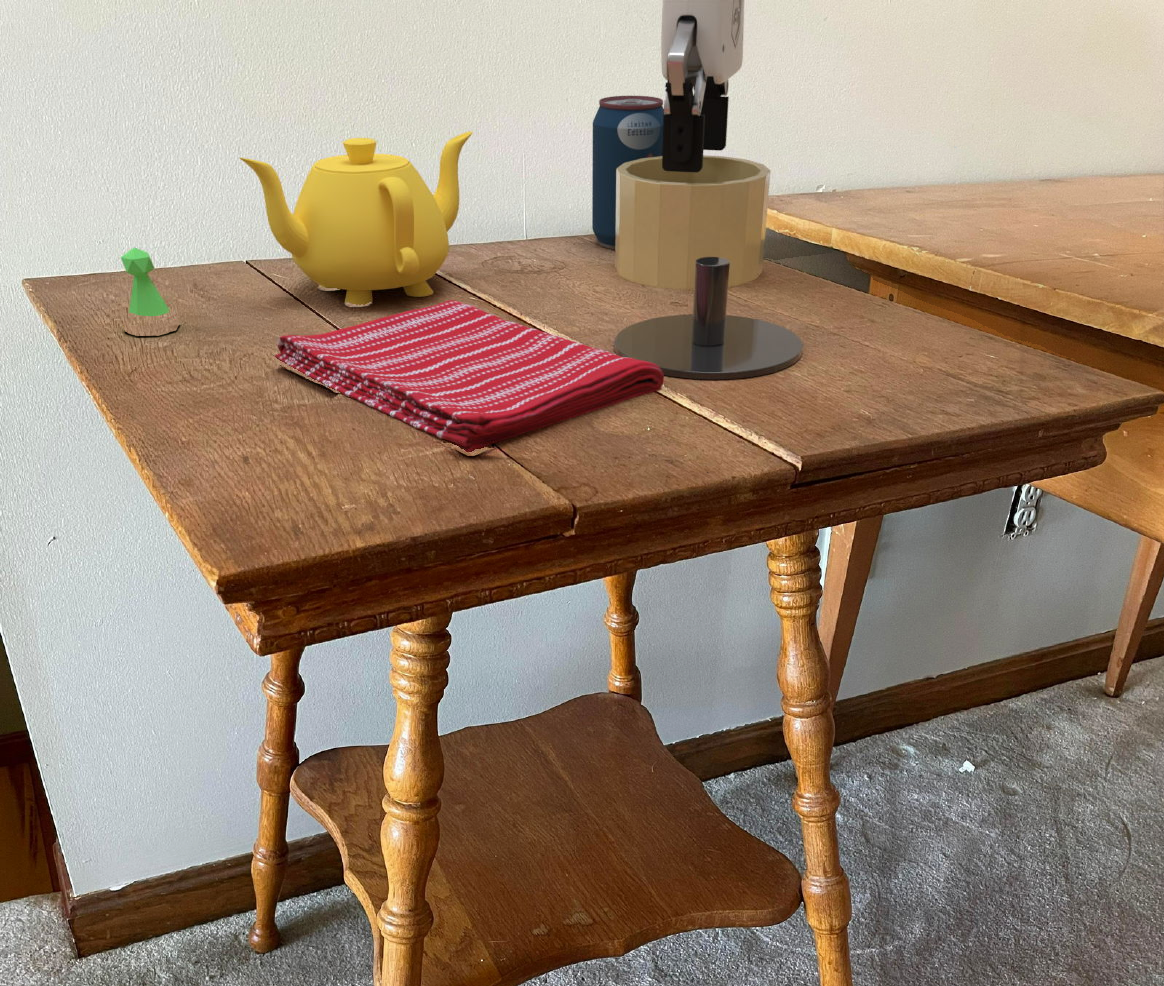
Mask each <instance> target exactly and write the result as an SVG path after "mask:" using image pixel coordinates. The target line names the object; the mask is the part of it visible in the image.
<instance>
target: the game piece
mask: <svg viewBox="0 0 1164 986" xmlns="http://www.w3.org/2000/svg"><path fill="white" fill-rule="evenodd" d="M120 260H121V261H122V265H123V267H124V269H125V272H126V274H128V275H132V276H133V280H132V281H133V282H132V287H131V288H132V289H131V294H130V301H129V302H130V303H129V309H128V313H129V312H130V313H134V314H135V315H141V316H158V315H162V314H163V315H164V314H166V313H168V311H169V310H170V308H169V307H168V305H167V303H166V302H165V300H164V299H163V297H162V296H161V294H160V292H159V291H158V289H157V287H156V286H155V284H154V282H153V281H152V280H151V278H150V276H149V273H151V272H152V271H153V270H154V269H155V266H154V263H153V261H152V258H151V256H150V254H149V252H148V251H145V250H143V249H140V248H137V247H133V248H131V249H130V250H128V251H127V252H126V253H124V254H123V255H121V256H120Z"/></svg>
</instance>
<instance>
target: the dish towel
mask: <svg viewBox="0 0 1164 986" xmlns="http://www.w3.org/2000/svg"><path fill="white" fill-rule="evenodd" d="M277 348H278V351H279V352H280V353H277V354H274V358H275V357H276V358H277V359H279V360H280V361H282V362H284V363H285V364H287V365H288V366H291V367H293V368H294V369H297V370H298V371H300V372H302V373H303V374H305V375H306V376H307V377H311V378H312V379H314V380H317V381H318V382H321V383H322V384H324V385H325V386H328V387H329V388H332V389H334V390H337V391H339V392H340V394H341V393H343V394H342V395H344V394H345V395H344V396H345V397H347V396H349V397H351V398H350V399H353V400H356V401H358V402H360V403H362V404H364V405H366V406H367V405H368V407H369V406H370V407H369V408H371V407H372V408H371V409H374V410H377V411H378V412H381V413H383V414H386V415H387V414H388V415H387V416H389V415H390V416H389V417H391V418H393V417H394V418H393V419H397V420H399V421H401V422H403V423H404V422H405V423H404V424H406V423H407V424H406V425H408V426H410V427H412V428H414V429H416V430H420V431H423V432H425V433H428V434H430V435H433V436H435V437H437V438H438V439H441V440H442V439H443V440H445V441H446V442H450V443H452V444H454V445H457V446H459V447H460V448H461V449H464V450H465V451H466V452H472V451H474V450H475V449H481V448H484V447H488V446H489V445H491V444H494V443H497V442H501V441H503V440H504V441H505V440H508V439H510V438H514V437H517V436H519V435H523V434H525V433H528V432H531V431H532V432H533V431H535V430H538V429H541V428H544V427H547V426H551V425H554V424H557V423H560V422H563V421H567V420H569V419H572V418H575V417H578V416H582V415H584V414H585V415H586V414H589V413H591V412H594V411H598V410H601V409H603V408H606V407H609V406H612V405H615V404H619V403H622V402H624V401H628V400H631V399H635V398H637V397H641V396H644V395H647V394H650V393H655V392H659V391H660V390H661V388H662V386H663V384H664V380H665V375H664V374H663V372H662V370H661V369H660V367H659V366H657V365H656V364H654V363H651V362H647V361H642V360H636V359H633V358H629V357H621V356H618V355H617V354H616V353H612V352H610V351H607V350H605V349H601V348H595V347H592V346H588V345H587V344H584V343H582V342H576V341H573V340H570V339H567V338H564V337H562V336H560V335H556V334H552V333H551V334H550V333H549V332H545V331H542V330H539V329H537V328H531V327H528V326H526V325H522V324H520V323H518V322H515V321H511V320H507V319H505V318H504V319H503V318H501V317H499V316H497V315H495V314H492V313H488V312H486V311H484V310H482V309H480V308H478V307H476V306H475V305H471V304H468V303H465V302H462V301H458V300H455V299H450V300H446V301H443V302H440V303H437V304H434V305H430V306H425V307H421V308H415V309H411V310H406V311H402V312H399V313H395V314H391V315H387V316H384V317H380V318H376V319H373V320H369V321H367V322H362V323H359V324H356V325H352V326H347V327H343V328H339V329H336V330H333V331H328V332H324V333H320V334H319V333H318V334H309V335H307V334H306V335H305V334H304V335H297V334H288V335H287V334H285V335H282V336H279V338H278V341H277ZM349 397H348V398H349Z"/></svg>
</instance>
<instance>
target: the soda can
mask: <svg viewBox="0 0 1164 986" xmlns="http://www.w3.org/2000/svg"><path fill="white" fill-rule="evenodd" d="M598 104H599V107H598V108H597V111H596V113H595V115H594V117H593V120H592V172H591V173H592V175H591V176H592V179H591V181H592V185H591V186H592V187H591V189H592V191H591V193H592V194H591V195H592V196H591V197H592V200H591V202H592V204H591V205H592V209H591V210H592V214H591V215H592V216H591V220H592V221H591V223H592V226H591V229H592V232H593V234H594V236H595V238H596V239H597V241H598V244H599V245H600V246H602V247H603V248H606V249H609V250H610V249H611V250H615V242H616V169H617V168H618V167H619V166H621V165H622V164H623V163H626V162H630V161H634V160H638V159H641V158H650V157H659V156H662V148H663V114H664V100H663V99H662V98H659V97H656V96H649V95H615V96H614V95H613V96H607V97H603V98H601V99H599V100H598Z"/></svg>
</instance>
